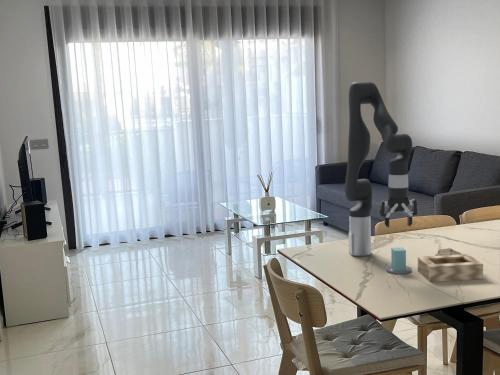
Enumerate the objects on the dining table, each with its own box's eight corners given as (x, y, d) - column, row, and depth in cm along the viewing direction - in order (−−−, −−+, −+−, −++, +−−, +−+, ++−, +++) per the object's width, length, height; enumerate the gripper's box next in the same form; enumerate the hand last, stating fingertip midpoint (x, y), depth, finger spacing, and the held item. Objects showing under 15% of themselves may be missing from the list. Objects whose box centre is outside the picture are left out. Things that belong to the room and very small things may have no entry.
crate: (429, 281, 218) (429, 266, 217) (417, 271, 232) (417, 256, 231) (482, 278, 219) (483, 263, 218) (467, 268, 232) (467, 254, 232)
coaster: (389, 275, 228) (389, 273, 228) (383, 267, 238) (383, 265, 238) (415, 273, 229) (415, 271, 229) (407, 266, 239) (407, 264, 238)
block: (394, 270, 231) (394, 250, 230) (391, 267, 236) (391, 248, 234) (405, 270, 231) (405, 250, 230) (402, 266, 236) (402, 247, 234)
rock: (458, 265, 237) (458, 255, 237) (431, 261, 244) (431, 251, 244) (467, 259, 246) (467, 249, 245) (441, 255, 252) (441, 246, 252)
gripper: (382, 188, 225) (383, 229, 227) (419, 186, 225) (419, 227, 228) (377, 185, 232) (378, 225, 235) (413, 183, 232) (413, 223, 235)
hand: (398, 226), depth 231 cm, fingers open, 8 cm apart
